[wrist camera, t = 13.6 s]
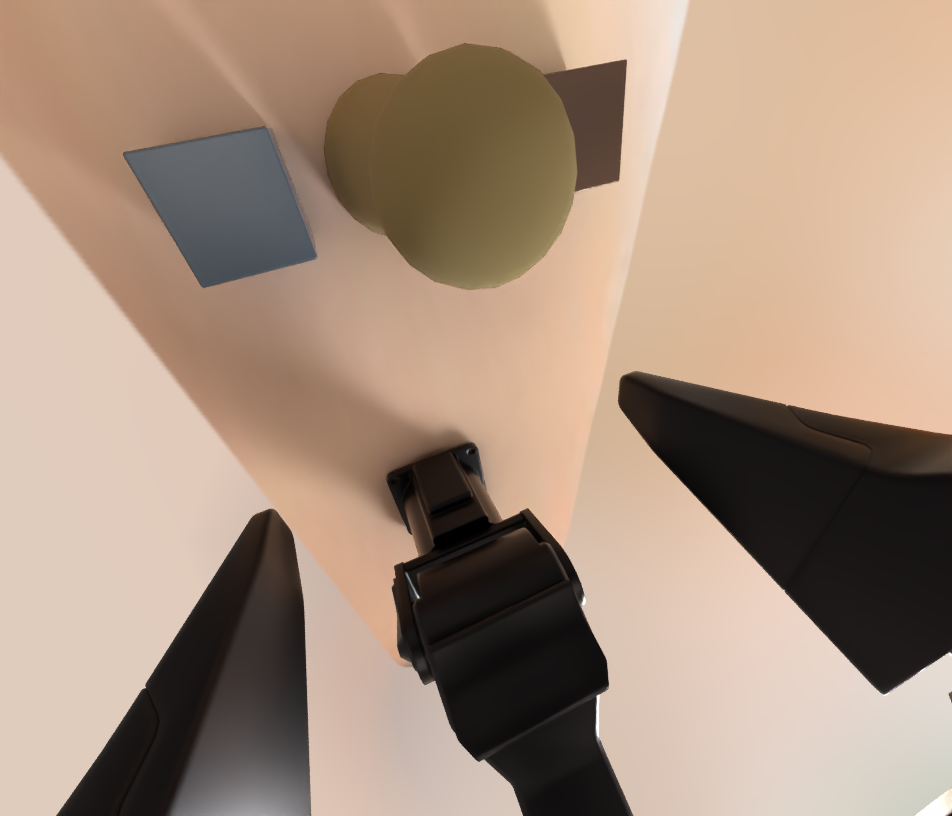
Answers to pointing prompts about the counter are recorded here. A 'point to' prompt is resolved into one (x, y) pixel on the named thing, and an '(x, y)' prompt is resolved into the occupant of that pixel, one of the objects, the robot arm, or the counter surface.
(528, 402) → the counter surface
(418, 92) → the cork
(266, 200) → the slate block
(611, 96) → the walnut block
